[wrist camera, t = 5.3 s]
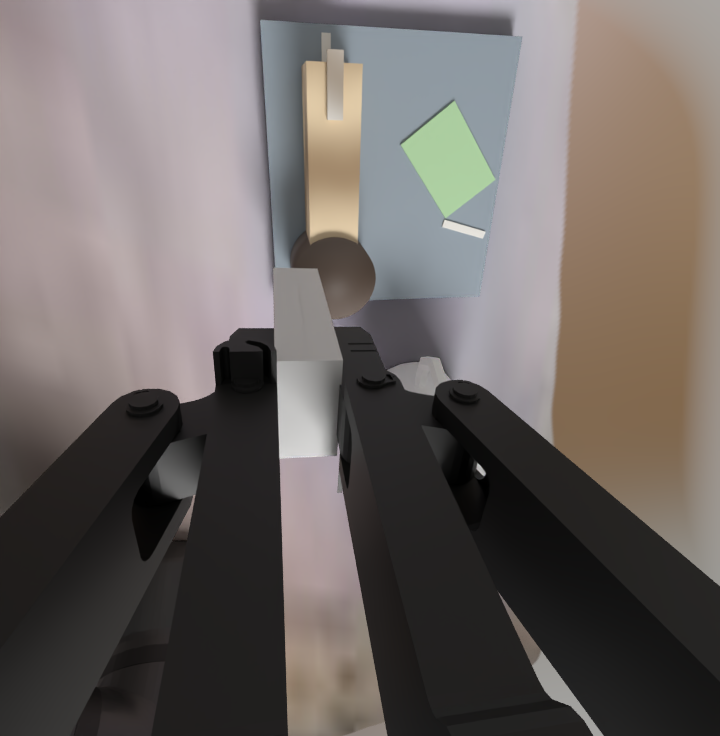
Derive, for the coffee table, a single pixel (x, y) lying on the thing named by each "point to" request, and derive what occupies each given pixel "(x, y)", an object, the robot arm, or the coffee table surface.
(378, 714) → the coffee table surface
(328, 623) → the coffee table surface
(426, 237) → the board
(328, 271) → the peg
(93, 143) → the coffee table surface
